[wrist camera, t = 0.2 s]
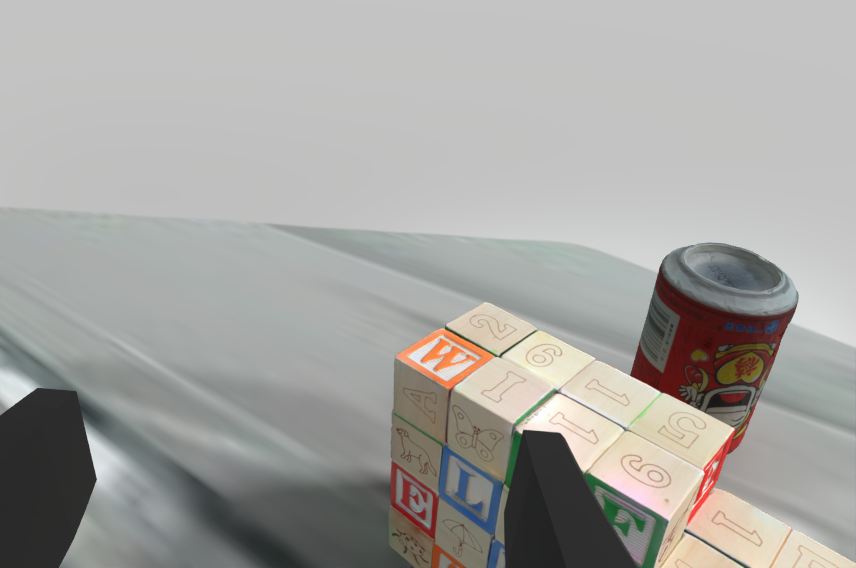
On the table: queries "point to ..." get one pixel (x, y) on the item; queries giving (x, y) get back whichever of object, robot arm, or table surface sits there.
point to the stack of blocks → (589, 442)
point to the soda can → (715, 330)
